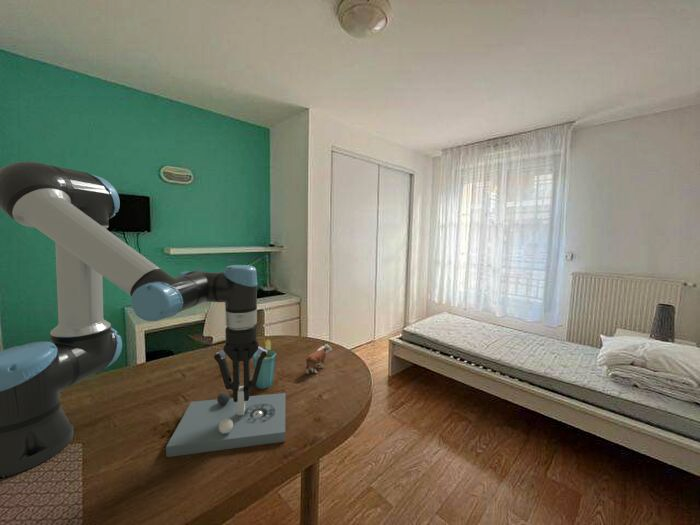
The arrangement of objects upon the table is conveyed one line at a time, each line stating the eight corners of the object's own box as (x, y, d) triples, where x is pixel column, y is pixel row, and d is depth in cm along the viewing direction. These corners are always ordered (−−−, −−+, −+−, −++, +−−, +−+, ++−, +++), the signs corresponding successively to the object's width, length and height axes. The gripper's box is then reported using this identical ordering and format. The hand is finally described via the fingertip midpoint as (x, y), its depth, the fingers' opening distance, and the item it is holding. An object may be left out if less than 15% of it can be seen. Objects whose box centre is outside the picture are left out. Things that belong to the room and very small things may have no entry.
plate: (166, 457, 62) (166, 446, 62) (191, 410, 79) (191, 401, 79) (285, 441, 68) (285, 432, 68) (285, 400, 85) (285, 392, 84)
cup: (274, 397, 86) (274, 350, 85) (248, 399, 85) (247, 352, 83) (277, 374, 100) (277, 334, 98) (254, 376, 98) (254, 335, 97)
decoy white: (217, 437, 65) (217, 425, 65) (220, 428, 68) (220, 416, 68) (231, 436, 66) (231, 423, 66) (234, 426, 69) (234, 414, 69)
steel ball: (256, 412, 73) (266, 418, 73) (257, 405, 76) (267, 411, 76) (248, 422, 72) (258, 428, 73) (250, 415, 76) (259, 420, 76)
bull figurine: (333, 363, 110) (333, 343, 109) (311, 377, 98) (311, 355, 98) (324, 360, 112) (324, 341, 111) (301, 374, 101) (302, 352, 100)
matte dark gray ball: (216, 407, 76) (215, 396, 76) (218, 400, 79) (218, 390, 79) (228, 406, 77) (228, 395, 77) (230, 399, 80) (230, 389, 80)
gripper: (209, 331, 66) (211, 424, 68) (266, 329, 69) (266, 418, 71) (217, 321, 73) (218, 405, 76) (268, 320, 76) (267, 401, 79)
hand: (241, 411), depth 74 cm, fingers closed
